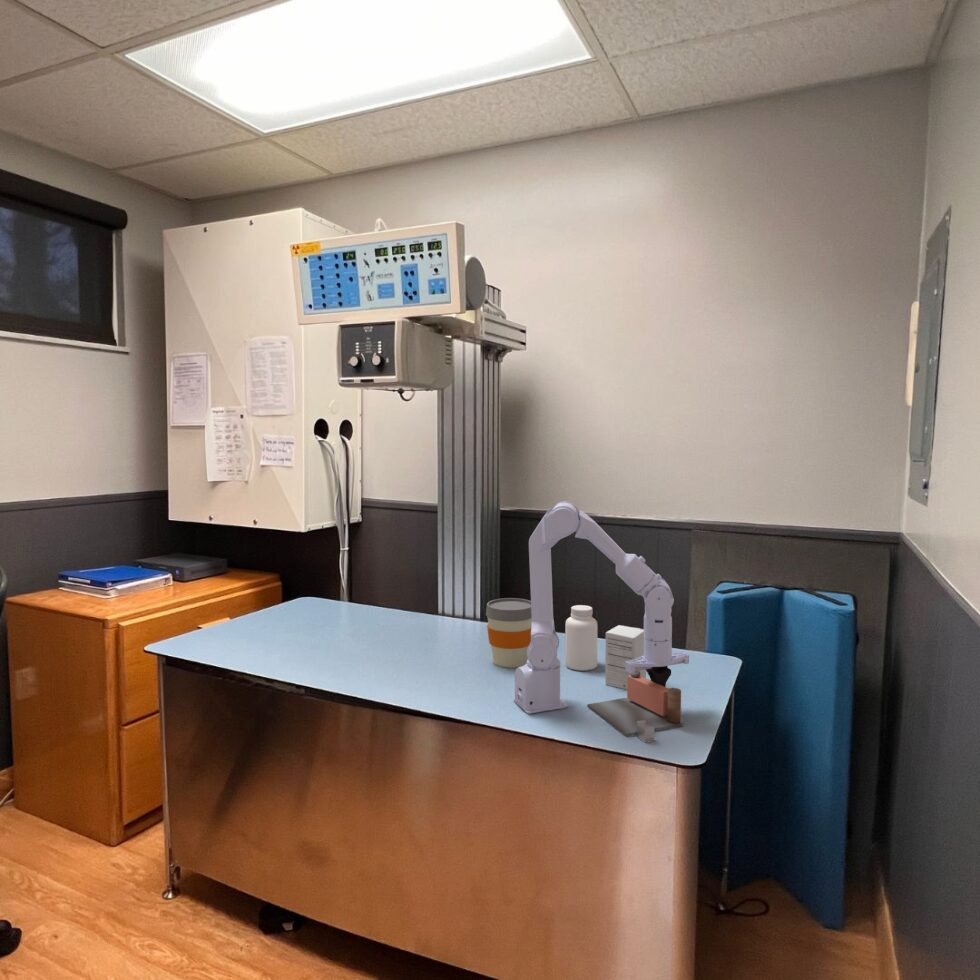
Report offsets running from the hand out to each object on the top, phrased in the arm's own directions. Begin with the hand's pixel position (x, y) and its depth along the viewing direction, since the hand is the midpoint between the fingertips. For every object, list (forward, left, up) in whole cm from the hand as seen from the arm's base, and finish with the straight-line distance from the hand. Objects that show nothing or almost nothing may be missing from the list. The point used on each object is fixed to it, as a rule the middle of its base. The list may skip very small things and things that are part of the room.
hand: (657, 700), depth 146 cm
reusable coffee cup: (-17, +40, -2) cm, 43 cm away
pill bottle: (-2, +30, -2) cm, 30 cm away
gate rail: (-2, 0, -1) cm, 2 cm away
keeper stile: (-10, -10, -2) cm, 15 cm away
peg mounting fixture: (-6, 0, -2) cm, 7 cm away
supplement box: (+2, +16, -2) cm, 16 cm away
